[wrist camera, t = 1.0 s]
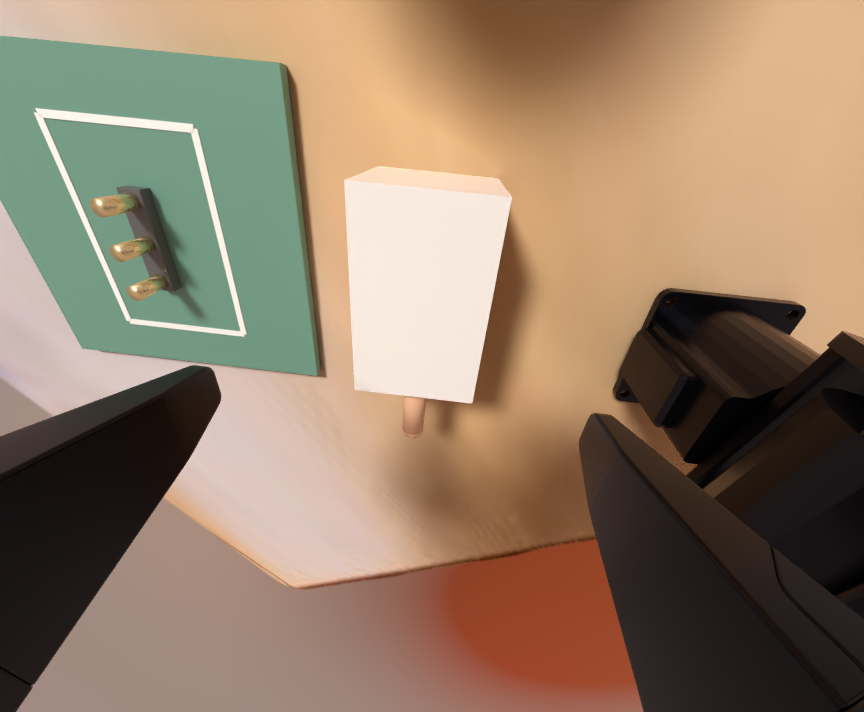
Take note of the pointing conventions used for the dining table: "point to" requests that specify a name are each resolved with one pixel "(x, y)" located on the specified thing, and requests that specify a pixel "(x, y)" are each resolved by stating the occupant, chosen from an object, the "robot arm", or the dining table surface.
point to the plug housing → (422, 281)
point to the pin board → (160, 200)
